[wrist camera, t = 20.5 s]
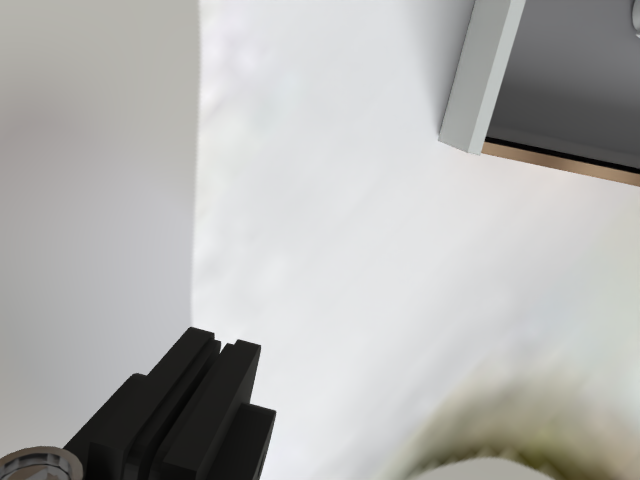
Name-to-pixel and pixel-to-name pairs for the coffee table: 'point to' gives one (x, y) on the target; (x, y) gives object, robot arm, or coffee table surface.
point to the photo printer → (636, 17)
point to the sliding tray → (549, 79)
